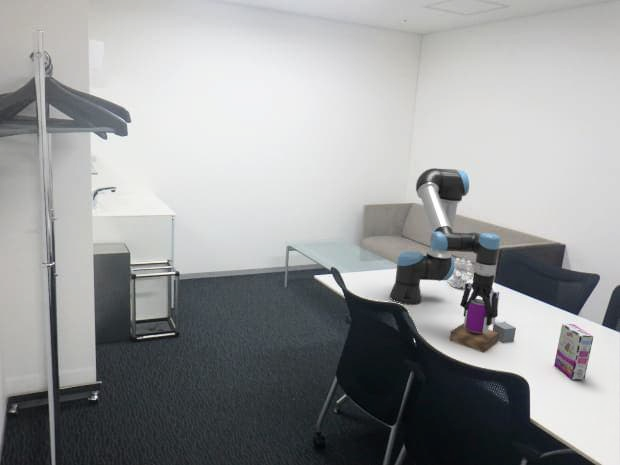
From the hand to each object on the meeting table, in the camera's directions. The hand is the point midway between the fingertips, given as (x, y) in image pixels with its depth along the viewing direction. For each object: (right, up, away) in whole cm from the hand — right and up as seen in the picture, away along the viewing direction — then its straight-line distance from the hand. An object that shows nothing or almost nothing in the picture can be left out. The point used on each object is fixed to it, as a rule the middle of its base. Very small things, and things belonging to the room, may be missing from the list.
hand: (475, 328), depth 194 cm
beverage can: (0, -1, 0) cm, 1 cm away
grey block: (+13, -5, +6) cm, 15 cm away
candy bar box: (+26, -12, -20) cm, 35 cm away
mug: (+14, -1, +26) cm, 30 cm away
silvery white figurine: (+16, +9, +75) cm, 77 cm away
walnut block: (0, -5, +1) cm, 5 cm away
